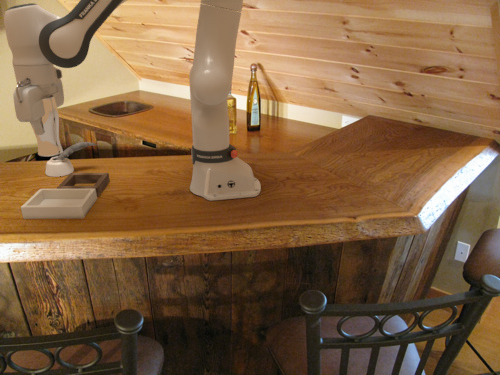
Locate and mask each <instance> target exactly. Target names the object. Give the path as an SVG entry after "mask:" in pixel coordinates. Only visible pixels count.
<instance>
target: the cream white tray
mask: <svg viewBox="0 0 500 375" xmlns="http://www.w3.org/2000/svg"><path fill="white" fill-rule="evenodd" d="M97 200H98V197H97V195H96V189H95V188H85V189H56V188H39V190H37V191H36V192H35V193H34V194H33V195H32V196H31V197H30V198H29V199H27V201H26V202H25V203H23V205H21V206H20V211H21V213H22V214H21V215H22V217H23V218H22V219H23V220H30V219H31V220H35V219H36V220H38V219H39V220H41V219H42V220H43V219H44V220H47V219H48V220H49V219H51V220H52V219H53V220H56V219H57V220H58V219H60V220H61V219H62V220H63V219H69V220H70V219H85V217H86V216H87V214H88V213H89V212H90V210H91V209H92V207H93V206H94V204H95V203H96V202H97Z"/></svg>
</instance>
